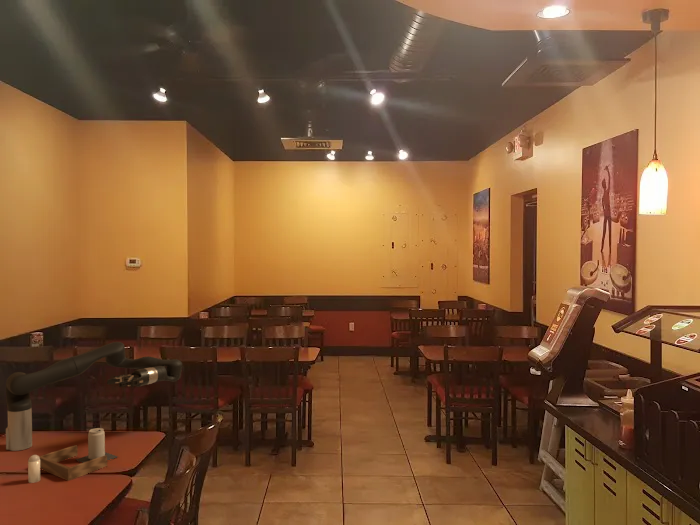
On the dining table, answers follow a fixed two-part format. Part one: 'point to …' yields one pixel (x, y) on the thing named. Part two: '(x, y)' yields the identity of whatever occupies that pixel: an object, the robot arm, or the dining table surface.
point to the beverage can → (96, 443)
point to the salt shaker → (34, 469)
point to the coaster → (85, 459)
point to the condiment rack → (69, 473)
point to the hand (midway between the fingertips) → (113, 383)
